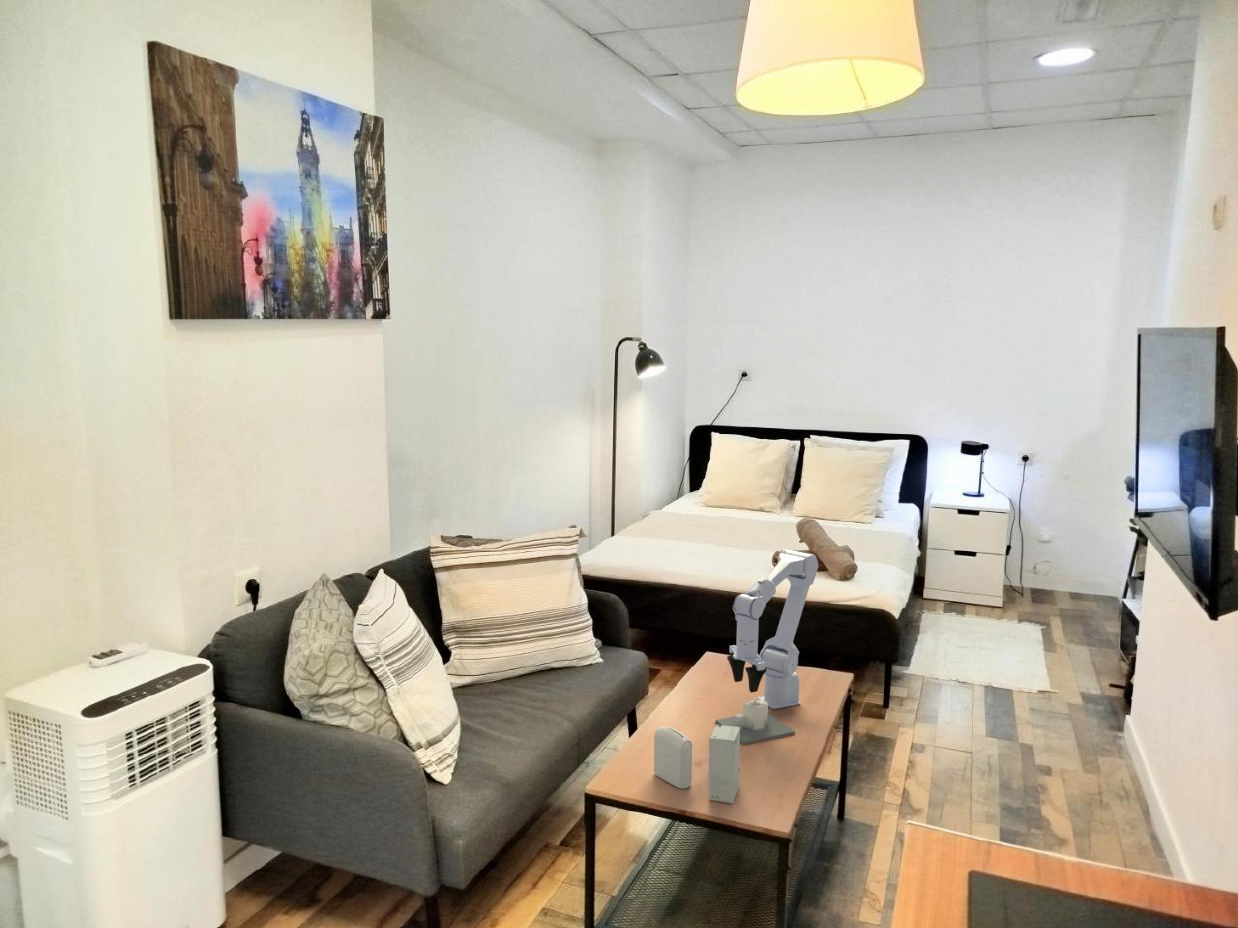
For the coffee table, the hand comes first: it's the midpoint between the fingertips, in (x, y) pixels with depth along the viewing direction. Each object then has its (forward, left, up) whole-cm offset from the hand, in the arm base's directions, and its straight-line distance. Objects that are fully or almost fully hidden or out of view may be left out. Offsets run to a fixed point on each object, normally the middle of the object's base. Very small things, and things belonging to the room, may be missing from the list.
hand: (745, 686), depth 235 cm
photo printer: (+34, +22, -10) cm, 41 cm away
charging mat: (+1, +6, -9) cm, 11 cm away
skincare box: (+26, +32, -10) cm, 42 cm away
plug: (+2, +6, -8) cm, 10 cm away
